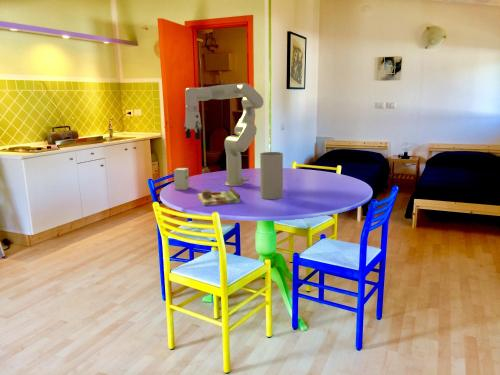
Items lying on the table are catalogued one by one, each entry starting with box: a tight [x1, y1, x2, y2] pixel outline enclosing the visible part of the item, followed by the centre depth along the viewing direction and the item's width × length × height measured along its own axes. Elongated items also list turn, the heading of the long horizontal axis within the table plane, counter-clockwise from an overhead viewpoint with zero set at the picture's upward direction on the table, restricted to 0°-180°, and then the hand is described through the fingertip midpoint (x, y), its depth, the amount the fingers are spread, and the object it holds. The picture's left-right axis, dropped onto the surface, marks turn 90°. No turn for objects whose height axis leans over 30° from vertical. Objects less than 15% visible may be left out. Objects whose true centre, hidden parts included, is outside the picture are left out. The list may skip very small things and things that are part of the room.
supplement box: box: [173, 167, 190, 191], centre depth 259 cm, size 7×7×13 cm
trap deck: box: [197, 187, 241, 207], centre depth 232 cm, size 20×20×4 cm
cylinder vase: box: [259, 151, 284, 201], centre depth 233 cm, size 12×12×25 cm
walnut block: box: [201, 189, 212, 199], centre depth 230 cm, size 4×4×4 cm
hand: (192, 138), depth 245 cm, fingers open, 9 cm apart
